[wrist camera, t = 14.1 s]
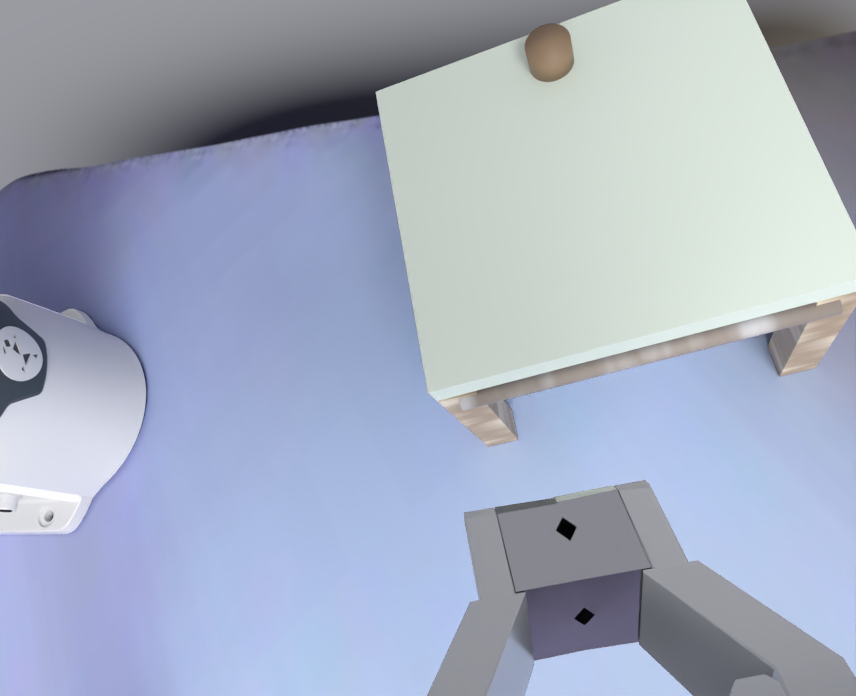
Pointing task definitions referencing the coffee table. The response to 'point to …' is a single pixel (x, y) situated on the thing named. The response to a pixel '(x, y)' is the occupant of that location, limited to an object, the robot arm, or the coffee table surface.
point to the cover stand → (789, 346)
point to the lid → (606, 192)
